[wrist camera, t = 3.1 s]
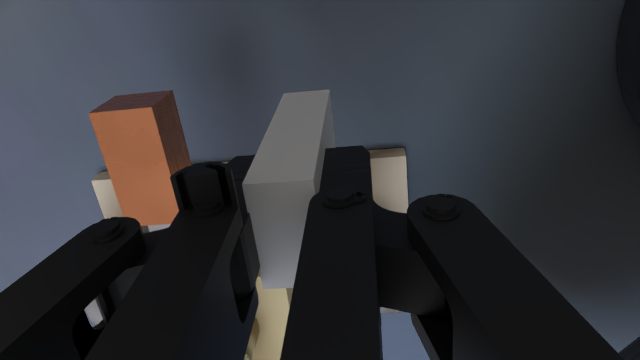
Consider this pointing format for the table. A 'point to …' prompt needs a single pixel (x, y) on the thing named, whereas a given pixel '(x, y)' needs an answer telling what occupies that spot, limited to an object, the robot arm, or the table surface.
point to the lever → (143, 154)
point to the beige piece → (272, 302)
